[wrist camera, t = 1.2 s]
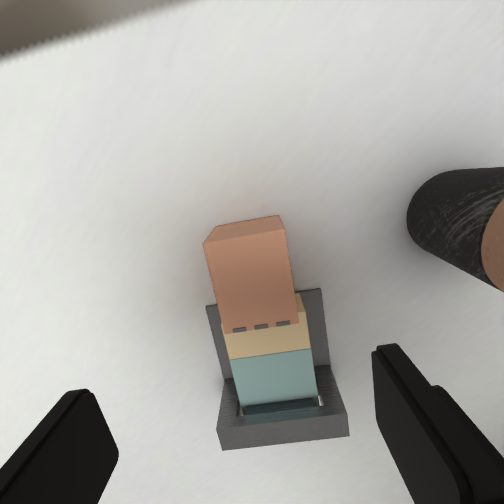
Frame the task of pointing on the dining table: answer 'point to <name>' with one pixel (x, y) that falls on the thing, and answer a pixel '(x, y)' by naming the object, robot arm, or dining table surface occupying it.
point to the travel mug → (463, 221)
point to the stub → (251, 275)
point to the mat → (314, 323)
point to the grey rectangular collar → (282, 417)
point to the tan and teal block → (273, 363)
